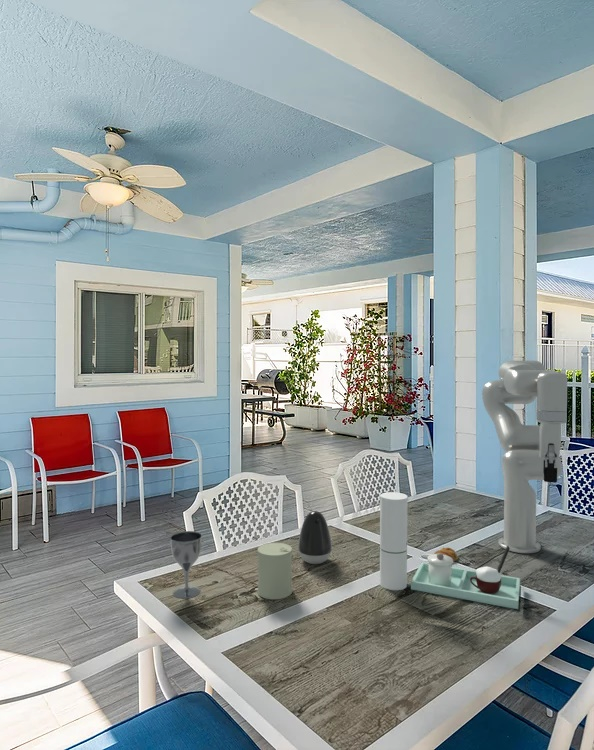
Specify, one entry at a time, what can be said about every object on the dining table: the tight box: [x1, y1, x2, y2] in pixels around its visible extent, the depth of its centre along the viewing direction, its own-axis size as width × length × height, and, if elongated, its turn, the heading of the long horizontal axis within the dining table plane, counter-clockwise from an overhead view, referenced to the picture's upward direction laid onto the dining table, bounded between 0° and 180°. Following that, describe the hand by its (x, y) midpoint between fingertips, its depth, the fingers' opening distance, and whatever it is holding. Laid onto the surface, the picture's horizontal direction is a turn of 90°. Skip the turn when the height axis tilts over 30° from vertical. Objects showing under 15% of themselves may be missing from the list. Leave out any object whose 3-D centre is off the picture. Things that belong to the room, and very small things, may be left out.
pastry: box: [433, 547, 459, 563], centre depth 157 cm, size 9×7×4 cm
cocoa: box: [470, 546, 510, 594], centre depth 136 cm, size 10×6×12 cm, turn 57°
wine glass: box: [170, 530, 203, 600], centre depth 138 cm, size 8×8×15 cm
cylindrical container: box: [379, 491, 408, 591], centre depth 140 cm, size 7×7×25 cm
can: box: [256, 542, 293, 600], centre depth 139 cm, size 9×9×12 cm
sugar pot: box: [427, 553, 454, 587], centre depth 142 cm, size 7×7×8 cm
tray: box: [410, 561, 521, 610], centre depth 139 cm, size 14×26×3 cm, turn 66°
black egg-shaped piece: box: [297, 510, 333, 565], centre depth 159 cm, size 10×10×15 cm
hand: (549, 477), depth 146 cm, fingers open, 9 cm apart
